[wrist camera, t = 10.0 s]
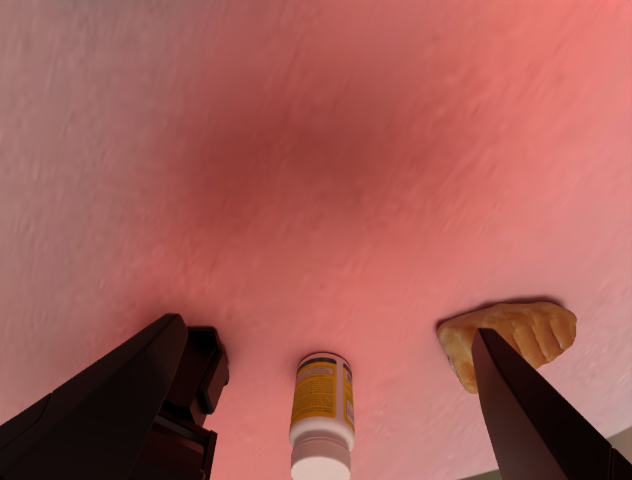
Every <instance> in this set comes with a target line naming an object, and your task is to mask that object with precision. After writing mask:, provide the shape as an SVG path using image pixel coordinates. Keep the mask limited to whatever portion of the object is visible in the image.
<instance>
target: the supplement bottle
mask: <svg viewBox="0 0 632 480" xmlns="http://www.w3.org/2000/svg"><path fill="white" fill-rule="evenodd" d="M289 440H290V443H291V446H292V448H293V450H292V455H291V476H292V478H293V480H349V479H350V476H351V457H350V452H351V450H352V449H353V446H354V442H355V429H354V410H353V390H352V373H351V369H350V366H349V365H348V363H347V362H346V361H345V360H343V359H342V358H340V357H338V356H336V355H333V354H329V353H317V354H313V355H310V356H308V357H307V358H305V359H304V360H303V361H302V362H301V363H300V365H299V367H298V371H297V377H296V386H295V393H294V401H293V408H292V416H291V424H290V432H289Z"/></svg>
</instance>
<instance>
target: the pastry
mask: <svg viewBox="0 0 632 480" xmlns="http://www.w3.org/2000/svg"><path fill="white" fill-rule="evenodd" d="M576 322H577V319H576V316H575V314H574V313H572V312H571V311H569V310H567V309H564V308H562V307H560V306H558V305H555V304H553V303H550V302H540V301H539V302H533V303H529V304H522V303H517V304H508V303H498V304H495V305H494V306H492V307H489V308H484V309H481V310H477V311H474V312H469V313H466V314H463V315H460V316H457V317H455V318H452V319H450V320H448V321H446V322H444V323H442V324H441V325H440V327H439V328H438V330H437V336H438V338H439V341H440V343H441V345H442V348H443V350H444V351H445V352H446V353H447V355H448V356H449V362H450V366H451V367H452V369H453V371H454V373H455V374H456V376H457V377H458V378H459V381H460V382H461V384H462V386H463V387H464V388H465V390H466V391H468V392H469V393H472V394H477V393H478V388H477V382H476V377H475V371H474V365H473V360H472V354H471V347H472V342H473V338H474V334H475V331H476V329H477V328H478V327H486V328H493V329H495V330H496V331H497V332H498V333H499V334H500V335H501V336H502V337H503V338H504V339H505V340H506V341H507V342H508V343H509V344H510V345H511V346H512V347H513V348H514V349H515V350H516V351H517V352H518V353H519V354H520V355H521V356H522V357H523V358H524V359H525V360H526V361H527V362H528V363H529V364H530V365H531V366H532V367H533V368H534V369H537V368H539V367H540V366H541V365H543V364H546V363H550V362H552V361H553V360H554V359H555V358H556V357H557V356H559V355H561V354H562V353H563V352H564V351H565V350H566V349H567V348H569V347H570V346H572V344H573V342H574V340H575V337H576V324H575V323H576Z"/></svg>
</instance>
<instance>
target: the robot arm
mask: <svg viewBox="0 0 632 480" xmlns="http://www.w3.org/2000/svg"><path fill="white" fill-rule="evenodd" d="M211 334H212V335H211ZM471 354H472V360H473V365H474V371H475V377H476V382H477V388H478V393H479V399H480V404H481V409H482V413H483V416H484V420H485V423H486V427H487V430H488V433H489V437H490V440H491V443H492V447H493V450H494V453H495V457H496V460H497V463H498V467H499V470H500V473H501V477H502V480H632V464H631V463H630V462H629V461H628V460H627V459H625V457H624V456H623V455H622V454H621V453H619V452H618V450H616V449H615V448H612V445H611V444H610V443H609V442H608V441H607V440H606V439H605V438H604V437H603V436H602V435H601V434H600V433H599V432H598V431H597V430H596V429H595V428H594V427H593V426H592V425H591V424H590V423H589V422H588V421H587V420H586V419H585V418H584V417H583V416H582V415H581V414H580V413H579V412H578V411H577V410H576V409H575V408H574V407H573V406H572V405H571V404H570V403H569V402H568V401H567V400H566V399H565V398H564V397H563V396H562V395H561V394H560V393H559V392H558V391H557V390H556V389H555V388H554V387H553V386H552V385H551V384H549V383H548V382H547V381H546V380H545V379H544V378H543V377H542V376H541V375H540V374H539V373H538V372H537V371H536V370H535V369H534V368H533V367H532V366H531V365H530V364H529V363H528V362H527V361H526V360H525V359H524V358H523V357H522V356H521V355H520V354H519V353H518V352H517V351H516V350H515V349H514V348H513V347H512V346H511V345H510V344H509V343H508V342H507V341H506V340H505V339H504V338H503V337H502V336H501V335H500V334H499V333H498V332H497V331H496V330H495V329H493V328H486V327H478V328H477V329H476V331H475V334H474V338H473V342H472V347H471ZM228 373H229V370H228V366H227V362H226V358H225V355H224V352H223V350H221V346H220V342H219V339H218V335H217V332H216V330H215V329H213V328H186V325H185V323H184V321H183V319H182V316H181V315H180V314H176V313H167V314H165V315H163V316H162V317H161V318H159V319H158V320H156V321H155V322H153V323H152V324H150V325H149V326H147V327H146V328H144V329H143V330H142V331H140V332H139V333H137V334H136V335H134V336H133V337H131V338H130V339H128V340H127V341H125V342H124V343H123V344H121V345H120V346H118V347H117V348H115V349H114V350H112V351H111V352H109V353H108V354H106V355H105V356H103V357H102V358H101V359H99V360H98V361H96V362H95V363H93V364H92V365H90V366H89V367H87V368H86V369H84V370H83V371H82V372H80V373H79V374H77V375H76V376H74V377H73V378H71V379H70V380H68V381H67V382H65V383H64V384H62V385H61V386H60V387H58V388H57V389H55V390H54V391H53V392H52V393H49V394H48V395H46V396H45V397H43V398H42V399H40V400H39V401H37V402H36V403H35V404H33V405H32V406H30V407H28V408H27V409H25V410H24V411H22V412H21V413H19V414H18V415H16V416H15V417H13V418H12V419H10V420H9V421H7V422H5V423H4V424H2V425H1V426H0V480H210V474H211V468H212V463H213V457H214V451H215V446H216V440H217V433H216V432H214V431H212V430H211V431H209V430H207V429H205V428H203V424H204V422H205V419H206V416H207V414H210V415H211V414H212V413H213V412H214V411H215V408H216V406H217V403H218V400H219V398H220V395H221V392H222V389H223V387H224V386H226V385H227V384H228V382H229V376H228Z"/></svg>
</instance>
